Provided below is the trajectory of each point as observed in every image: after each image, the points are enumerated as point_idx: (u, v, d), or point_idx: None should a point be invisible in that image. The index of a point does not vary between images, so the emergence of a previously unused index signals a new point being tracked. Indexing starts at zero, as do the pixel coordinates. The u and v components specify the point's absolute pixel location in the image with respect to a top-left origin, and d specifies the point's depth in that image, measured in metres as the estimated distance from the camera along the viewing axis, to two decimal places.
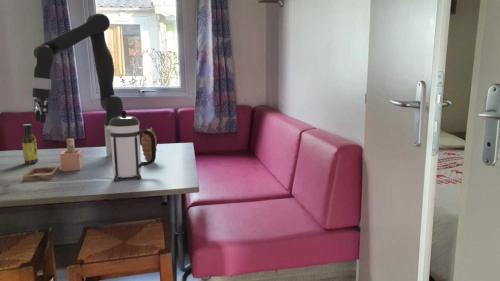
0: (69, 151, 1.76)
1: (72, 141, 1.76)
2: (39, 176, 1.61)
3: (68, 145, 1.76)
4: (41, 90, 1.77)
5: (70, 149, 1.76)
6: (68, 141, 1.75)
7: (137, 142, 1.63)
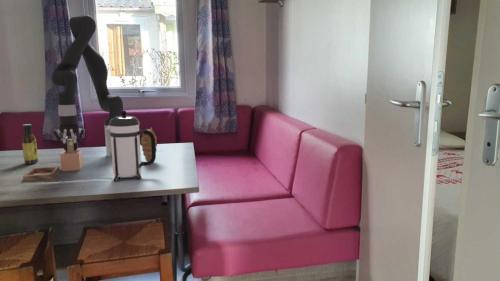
0: (69, 151, 1.76)
1: (72, 141, 1.76)
2: (39, 176, 1.61)
3: (68, 145, 1.76)
4: (75, 116, 1.74)
5: (70, 149, 1.76)
6: (68, 141, 1.75)
7: (137, 142, 1.63)
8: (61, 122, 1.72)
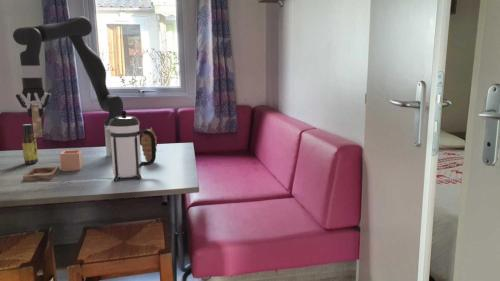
0: (34, 117, 1.61)
1: (37, 107, 1.61)
2: (39, 176, 1.61)
3: (32, 111, 1.60)
4: (40, 79, 1.59)
5: (35, 115, 1.61)
6: (32, 106, 1.60)
7: (137, 142, 1.63)
8: (24, 85, 1.56)
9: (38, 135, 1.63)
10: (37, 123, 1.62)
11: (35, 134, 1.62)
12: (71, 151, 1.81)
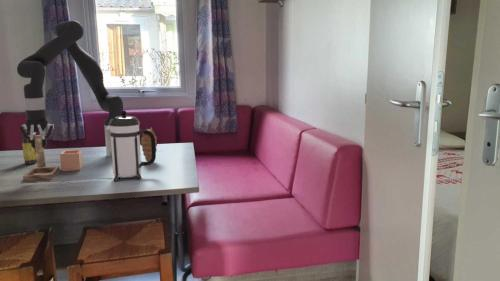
0: (37, 148, 1.63)
1: (40, 138, 1.63)
2: (39, 176, 1.61)
3: (36, 142, 1.63)
4: (44, 111, 1.62)
5: (38, 146, 1.63)
6: (36, 137, 1.63)
7: (137, 142, 1.63)
8: (27, 117, 1.59)
9: (41, 165, 1.65)
10: (40, 153, 1.64)
11: (38, 164, 1.65)
12: (71, 151, 1.81)
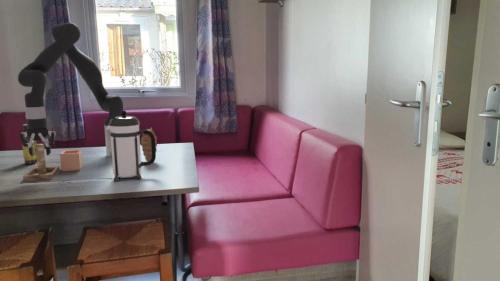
0: (38, 157, 1.64)
1: (42, 147, 1.64)
2: (39, 176, 1.61)
3: (37, 151, 1.64)
4: (44, 119, 1.62)
5: (39, 155, 1.64)
6: (37, 146, 1.63)
7: (137, 142, 1.63)
8: (28, 125, 1.60)
9: (42, 174, 1.66)
10: (41, 162, 1.65)
11: (39, 173, 1.66)
12: (71, 151, 1.81)
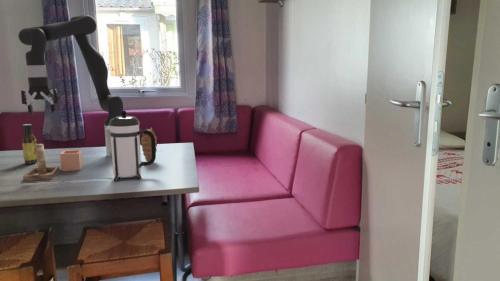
0: (38, 157, 1.64)
1: (41, 147, 1.64)
2: (39, 176, 1.61)
3: (37, 151, 1.64)
4: (46, 78, 1.63)
5: (39, 155, 1.64)
6: (37, 146, 1.63)
7: (137, 142, 1.63)
8: (30, 84, 1.60)
9: (42, 174, 1.66)
10: (41, 162, 1.65)
11: (39, 173, 1.66)
12: (71, 151, 1.81)
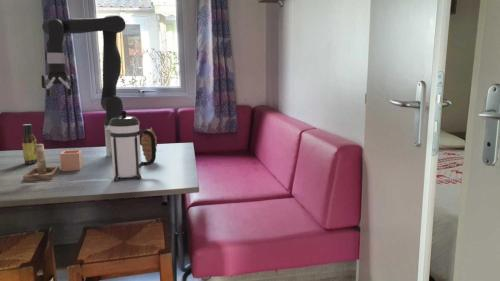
0: (38, 157, 1.64)
1: (41, 147, 1.64)
2: (39, 176, 1.61)
3: (37, 151, 1.64)
4: (64, 64, 1.80)
5: (39, 155, 1.64)
6: (37, 146, 1.63)
7: (137, 142, 1.63)
8: (50, 69, 1.77)
9: (42, 174, 1.66)
10: (41, 162, 1.65)
11: (39, 173, 1.66)
12: (71, 151, 1.81)
